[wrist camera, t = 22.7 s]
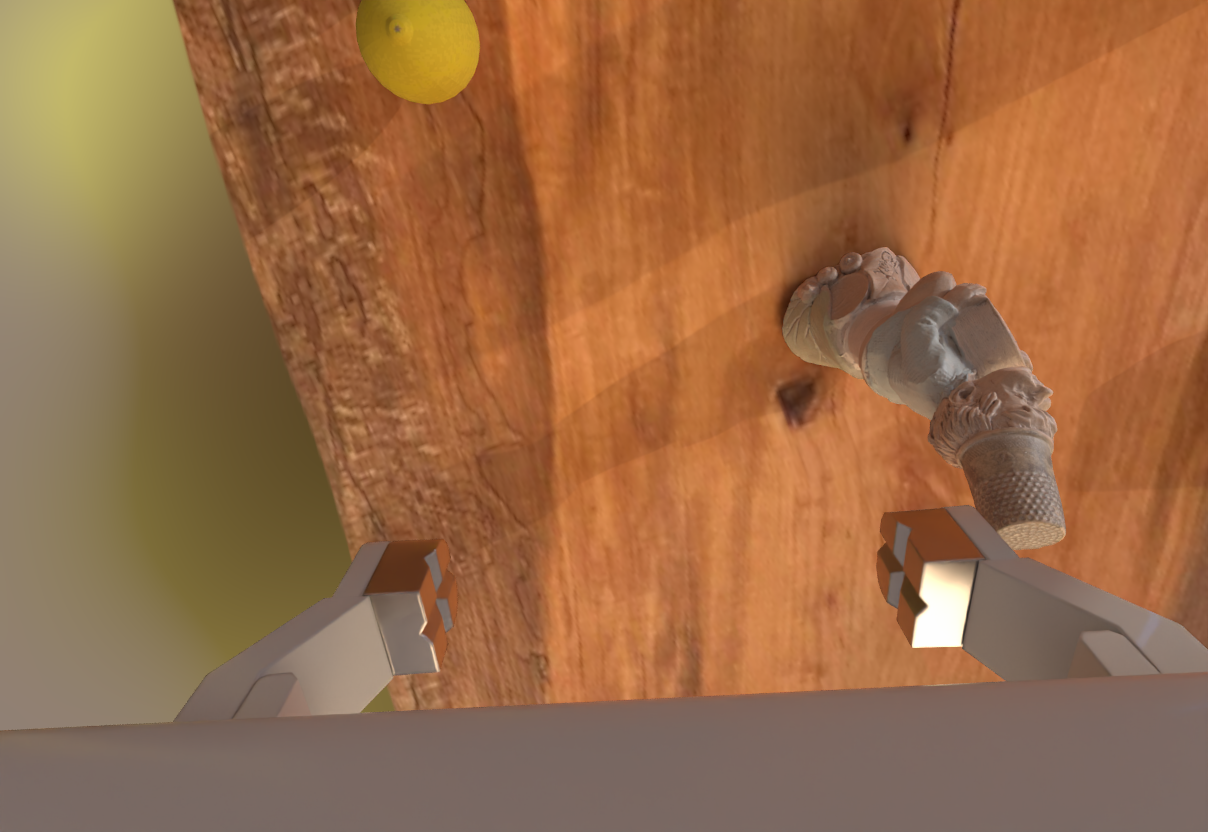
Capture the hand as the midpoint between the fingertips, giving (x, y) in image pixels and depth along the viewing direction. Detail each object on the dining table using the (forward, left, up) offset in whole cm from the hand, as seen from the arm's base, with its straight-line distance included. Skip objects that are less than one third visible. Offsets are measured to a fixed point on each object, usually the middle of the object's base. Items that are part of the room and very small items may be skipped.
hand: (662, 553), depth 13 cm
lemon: (-2, -15, -30) cm, 34 cm away
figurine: (-7, +13, -30) cm, 34 cm away
